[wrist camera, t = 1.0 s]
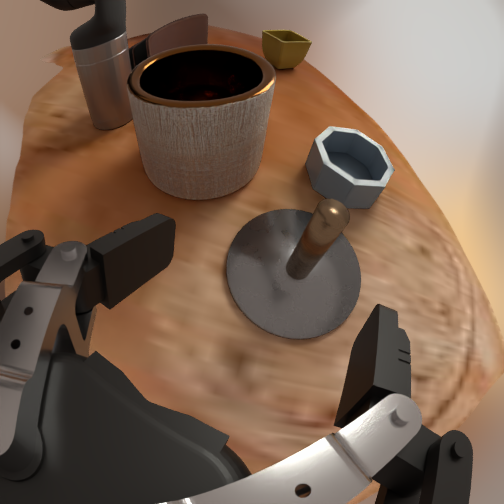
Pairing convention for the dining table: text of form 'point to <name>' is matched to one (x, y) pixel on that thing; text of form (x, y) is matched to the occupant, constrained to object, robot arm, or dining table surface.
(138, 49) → the letter holder
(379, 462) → the robot arm
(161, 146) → the planter
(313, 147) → the bowl
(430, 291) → the dining table surface
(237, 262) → the spindle on round base
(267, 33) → the flower pot
